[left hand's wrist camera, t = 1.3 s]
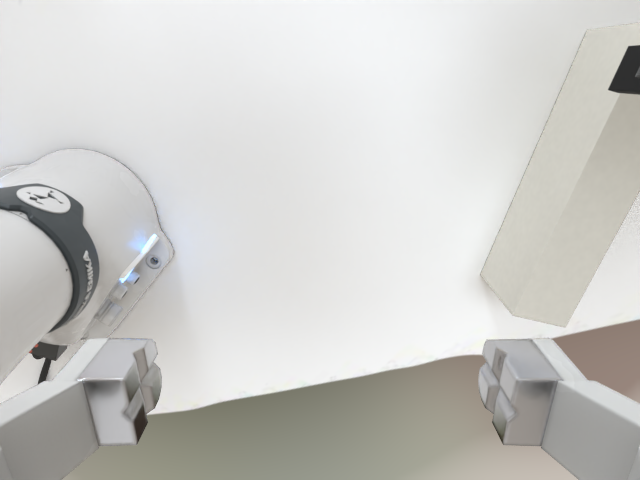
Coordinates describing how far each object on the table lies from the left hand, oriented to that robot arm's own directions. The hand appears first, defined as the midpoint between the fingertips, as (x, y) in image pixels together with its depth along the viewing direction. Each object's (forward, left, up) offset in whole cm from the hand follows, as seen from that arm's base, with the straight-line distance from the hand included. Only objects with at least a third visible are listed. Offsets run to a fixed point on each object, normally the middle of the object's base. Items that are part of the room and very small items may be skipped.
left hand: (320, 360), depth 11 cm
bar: (+9, -22, -35) cm, 43 cm away
